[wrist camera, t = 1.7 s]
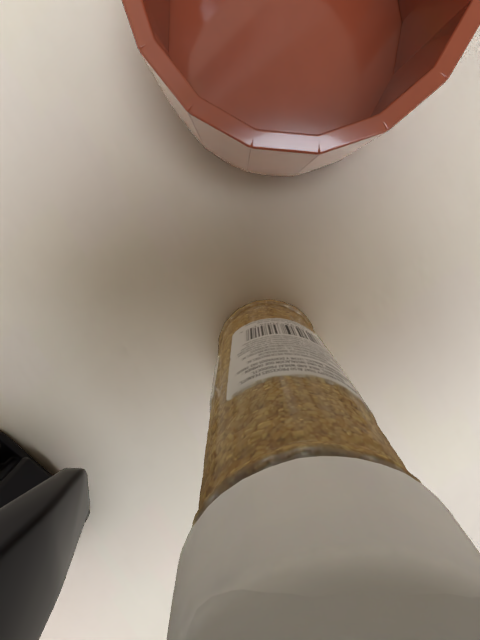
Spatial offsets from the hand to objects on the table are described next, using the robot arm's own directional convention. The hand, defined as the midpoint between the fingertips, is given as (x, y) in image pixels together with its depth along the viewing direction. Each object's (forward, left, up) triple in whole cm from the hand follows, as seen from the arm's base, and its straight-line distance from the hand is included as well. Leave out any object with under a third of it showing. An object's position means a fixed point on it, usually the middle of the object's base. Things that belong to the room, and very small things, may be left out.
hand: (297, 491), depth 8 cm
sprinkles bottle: (0, 0, -10) cm, 10 cm away
